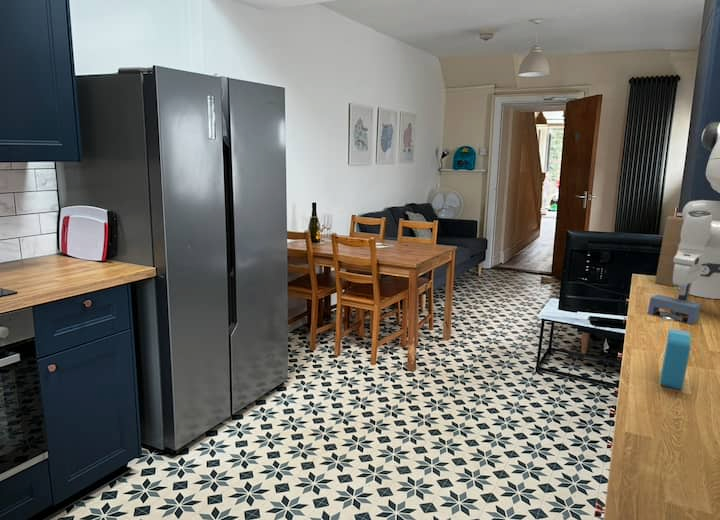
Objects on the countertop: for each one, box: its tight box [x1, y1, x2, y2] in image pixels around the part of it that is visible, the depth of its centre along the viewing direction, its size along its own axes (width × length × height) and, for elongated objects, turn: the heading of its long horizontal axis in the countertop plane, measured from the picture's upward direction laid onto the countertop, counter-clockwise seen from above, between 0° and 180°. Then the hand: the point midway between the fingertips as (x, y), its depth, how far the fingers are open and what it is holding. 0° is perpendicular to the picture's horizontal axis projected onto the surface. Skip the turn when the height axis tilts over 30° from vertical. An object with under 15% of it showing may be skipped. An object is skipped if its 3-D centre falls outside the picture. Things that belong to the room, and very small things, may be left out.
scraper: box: [659, 283, 691, 322], centre depth 185 cm, size 12×7×13 cm, turn 133°
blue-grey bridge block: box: [647, 294, 702, 325], centre depth 183 cm, size 7×14×6 cm, turn 43°
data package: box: [660, 328, 692, 390], centre depth 129 cm, size 12×4×12 cm, turn 149°
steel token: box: [661, 315, 676, 322], centre depth 181 cm, size 4×4×1 cm
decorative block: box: [654, 215, 684, 287], centre depth 234 cm, size 8×15×30 cm, turn 144°
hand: (684, 294), depth 188 cm, fingers closed on scraper, 2 cm apart
